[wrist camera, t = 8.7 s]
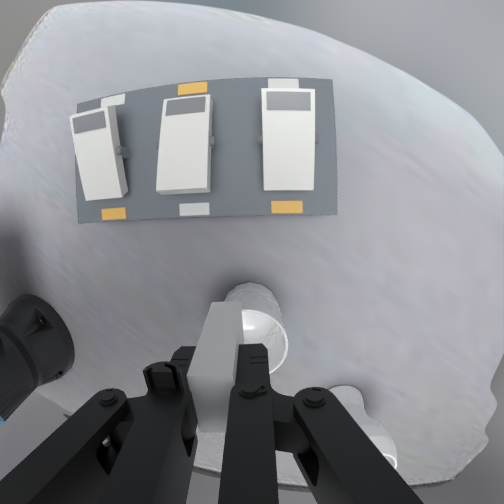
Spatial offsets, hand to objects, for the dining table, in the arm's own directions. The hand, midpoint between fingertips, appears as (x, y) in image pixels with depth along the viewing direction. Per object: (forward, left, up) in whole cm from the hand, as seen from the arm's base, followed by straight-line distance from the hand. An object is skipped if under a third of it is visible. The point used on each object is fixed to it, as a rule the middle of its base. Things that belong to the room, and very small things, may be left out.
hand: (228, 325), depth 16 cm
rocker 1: (-14, +11, -12) cm, 22 cm away
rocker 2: (-5, +11, -12) cm, 17 cm away
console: (-5, +11, -21) cm, 24 cm away
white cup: (0, -8, -21) cm, 23 cm away
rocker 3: (+4, +11, -12) cm, 17 cm away
